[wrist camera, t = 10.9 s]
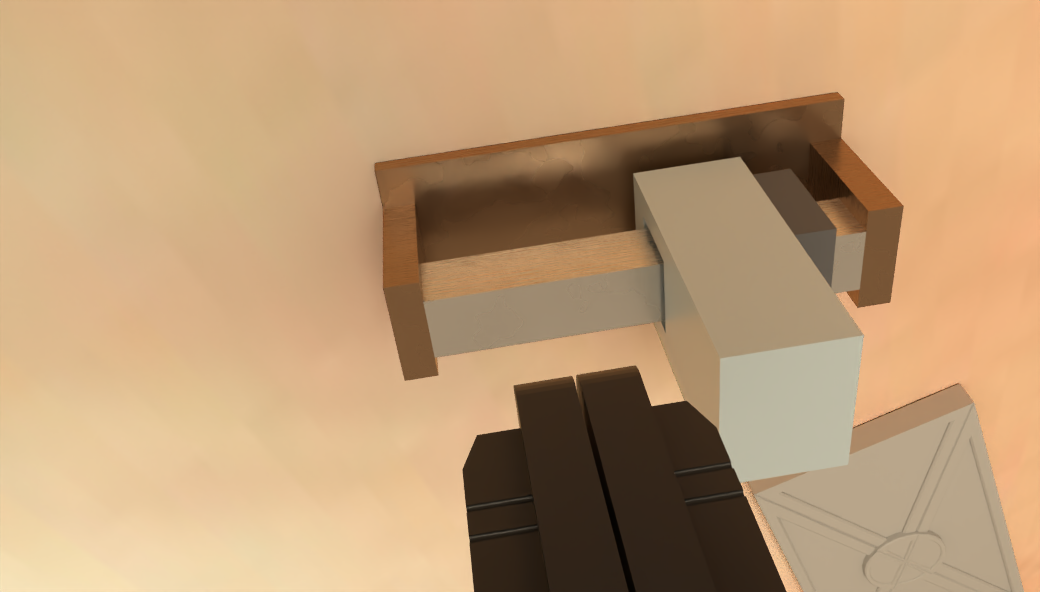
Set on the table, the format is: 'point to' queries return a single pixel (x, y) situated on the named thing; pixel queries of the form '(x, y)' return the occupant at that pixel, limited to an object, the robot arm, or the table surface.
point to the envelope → (898, 508)
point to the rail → (596, 225)
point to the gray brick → (802, 217)
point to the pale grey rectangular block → (750, 321)
